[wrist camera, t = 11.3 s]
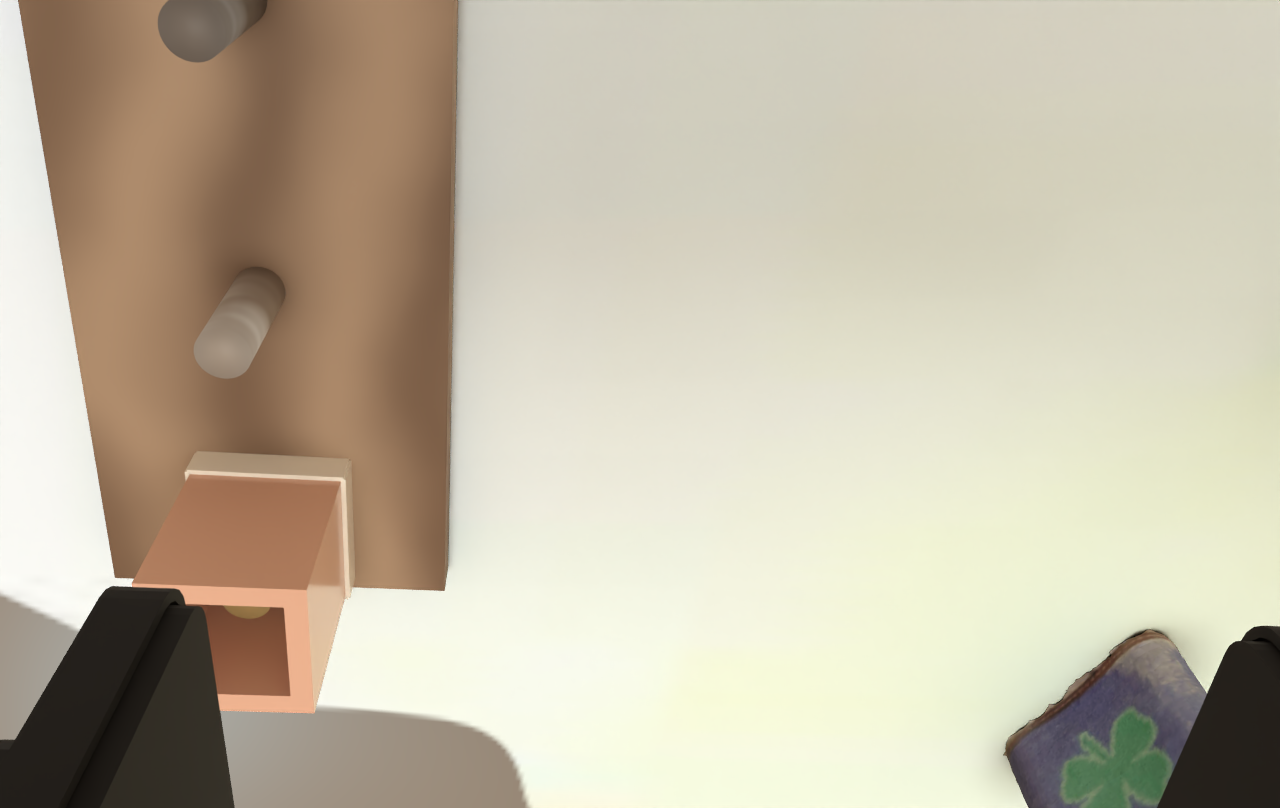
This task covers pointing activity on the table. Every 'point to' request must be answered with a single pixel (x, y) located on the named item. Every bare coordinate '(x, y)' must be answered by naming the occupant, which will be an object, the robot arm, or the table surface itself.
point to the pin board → (259, 249)
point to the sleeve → (261, 569)
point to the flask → (1111, 731)
